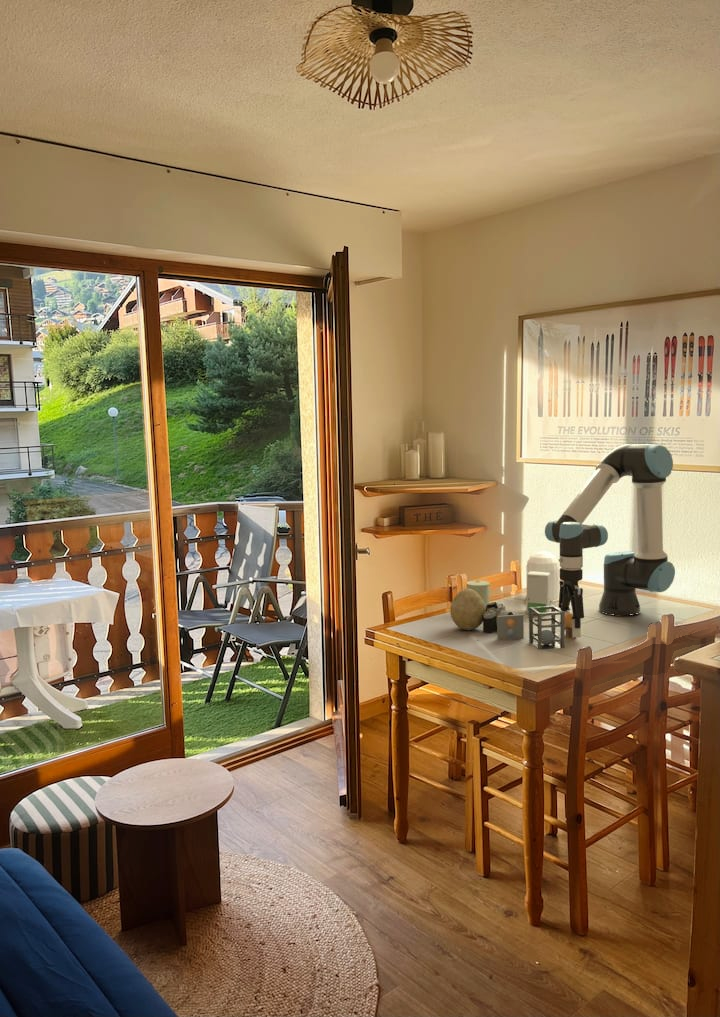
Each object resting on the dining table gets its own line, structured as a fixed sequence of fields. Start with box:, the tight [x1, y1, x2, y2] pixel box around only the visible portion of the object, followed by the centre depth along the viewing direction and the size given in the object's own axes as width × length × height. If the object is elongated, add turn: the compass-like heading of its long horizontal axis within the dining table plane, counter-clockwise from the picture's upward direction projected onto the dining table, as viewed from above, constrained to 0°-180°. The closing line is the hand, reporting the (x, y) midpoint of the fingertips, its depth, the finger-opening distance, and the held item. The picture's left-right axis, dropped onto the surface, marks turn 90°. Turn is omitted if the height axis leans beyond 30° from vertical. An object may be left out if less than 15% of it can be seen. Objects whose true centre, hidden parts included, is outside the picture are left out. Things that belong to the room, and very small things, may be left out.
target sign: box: [496, 613, 525, 641], centre depth 267 cm, size 9×3×9 cm, turn 98°
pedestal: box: [565, 627, 577, 640], centre depth 266 cm, size 5×5×4 cm
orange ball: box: [565, 612, 573, 628], centre depth 265 cm, size 5×5×5 cm
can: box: [466, 580, 491, 607], centre depth 307 cm, size 9×9×12 cm
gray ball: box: [542, 629, 554, 645], centre depth 258 cm, size 5×5×5 cm
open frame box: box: [528, 605, 566, 651], centre depth 258 cm, size 9×9×13 cm
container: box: [525, 550, 560, 601], centre depth 325 cm, size 13×13×20 cm
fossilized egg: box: [449, 588, 486, 631], centre depth 282 cm, size 13×13×15 cm
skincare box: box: [526, 571, 551, 615], centre depth 303 cm, size 8×7×16 cm
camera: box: [482, 601, 514, 634], centre depth 279 cm, size 16×9×10 cm, turn 146°
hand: (570, 633), depth 266 cm, fingers open, 8 cm apart
